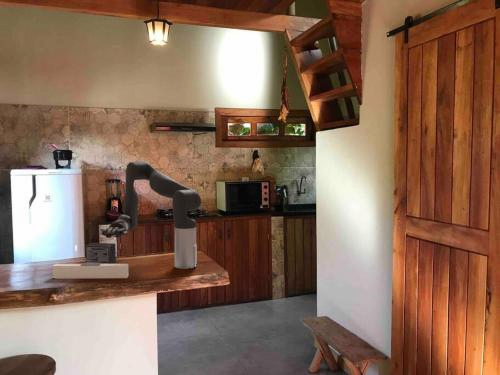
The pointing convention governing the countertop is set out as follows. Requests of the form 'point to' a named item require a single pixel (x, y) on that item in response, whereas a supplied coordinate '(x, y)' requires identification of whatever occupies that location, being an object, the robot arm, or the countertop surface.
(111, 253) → the small box
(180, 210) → the robot arm
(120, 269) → the board
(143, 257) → the countertop surface
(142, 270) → the countertop surface
